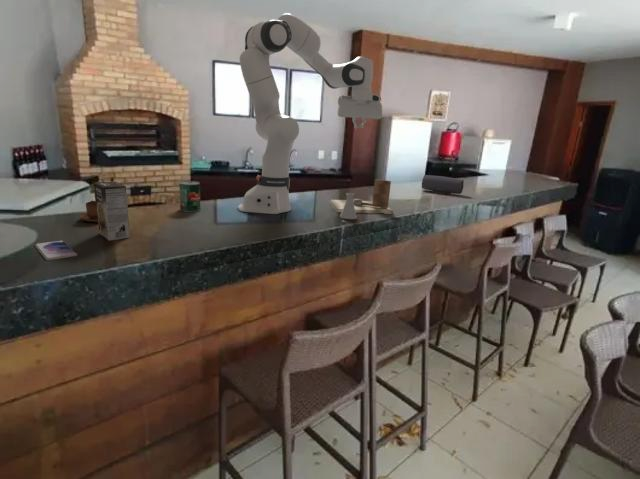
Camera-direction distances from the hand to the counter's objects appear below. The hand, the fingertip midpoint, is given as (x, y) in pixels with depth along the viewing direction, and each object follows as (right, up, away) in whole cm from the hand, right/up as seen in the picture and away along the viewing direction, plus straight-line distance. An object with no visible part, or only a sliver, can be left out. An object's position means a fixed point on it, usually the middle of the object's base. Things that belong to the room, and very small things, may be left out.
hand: (358, 128), depth 182 cm
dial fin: (+5, -36, -3) cm, 36 cm away
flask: (-6, -42, -19) cm, 47 cm away
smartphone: (-89, -55, -75) cm, 129 cm away
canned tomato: (-70, -39, -22) cm, 83 cm away
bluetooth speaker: (+55, -23, +56) cm, 82 cm away
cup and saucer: (-95, -45, -44) cm, 114 cm away
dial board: (+1, -37, 0) cm, 37 cm away
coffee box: (-81, -50, -60) cm, 113 cm away
